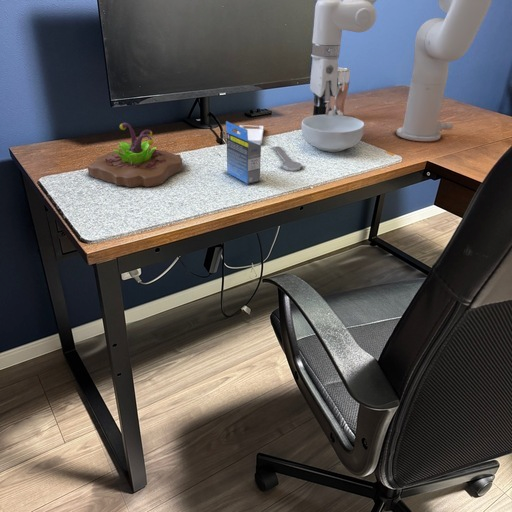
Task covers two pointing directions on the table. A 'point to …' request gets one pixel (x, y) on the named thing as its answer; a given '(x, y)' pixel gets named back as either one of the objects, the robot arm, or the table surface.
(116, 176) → the plant
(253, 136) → the phone case
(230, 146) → the blue cardboard box
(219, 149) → the table surface
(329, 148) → the cereal bowl
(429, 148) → the table surface
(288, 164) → the spoon
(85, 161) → the table surface
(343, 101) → the beer glass
